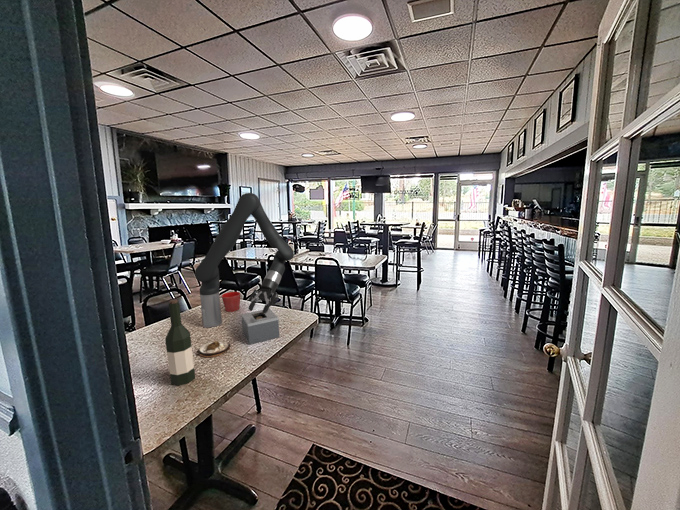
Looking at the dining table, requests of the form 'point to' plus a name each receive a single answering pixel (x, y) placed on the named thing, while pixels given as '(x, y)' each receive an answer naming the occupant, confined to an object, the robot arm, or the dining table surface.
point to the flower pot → (231, 301)
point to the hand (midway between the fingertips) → (256, 311)
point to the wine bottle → (179, 349)
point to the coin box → (260, 326)
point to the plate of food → (214, 349)
